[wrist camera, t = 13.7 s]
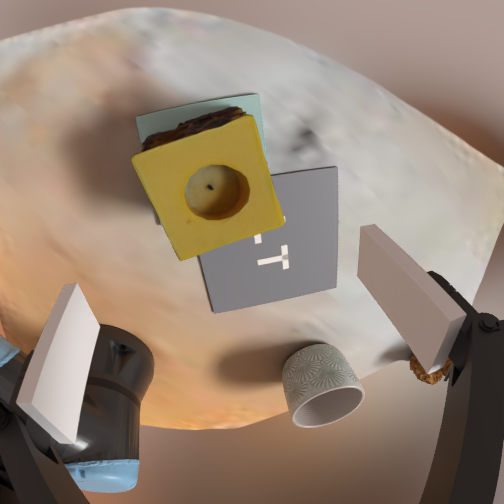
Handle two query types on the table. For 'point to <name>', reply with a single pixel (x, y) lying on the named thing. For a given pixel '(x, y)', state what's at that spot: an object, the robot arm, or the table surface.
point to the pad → (177, 115)
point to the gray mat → (281, 248)
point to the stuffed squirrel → (431, 377)
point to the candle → (209, 182)
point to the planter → (320, 386)
